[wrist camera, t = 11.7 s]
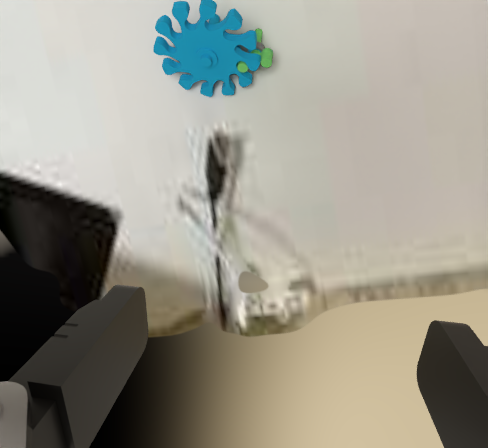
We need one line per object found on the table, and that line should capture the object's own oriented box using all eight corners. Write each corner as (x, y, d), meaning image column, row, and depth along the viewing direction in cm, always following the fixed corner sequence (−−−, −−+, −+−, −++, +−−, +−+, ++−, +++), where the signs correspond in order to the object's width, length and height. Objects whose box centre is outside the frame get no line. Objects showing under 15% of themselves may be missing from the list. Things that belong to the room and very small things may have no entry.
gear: (158, 92, 35) (142, -2, 26) (169, 52, 37) (157, -48, 28) (261, 109, 36) (281, 24, 27) (266, 69, 38) (285, -23, 29)
